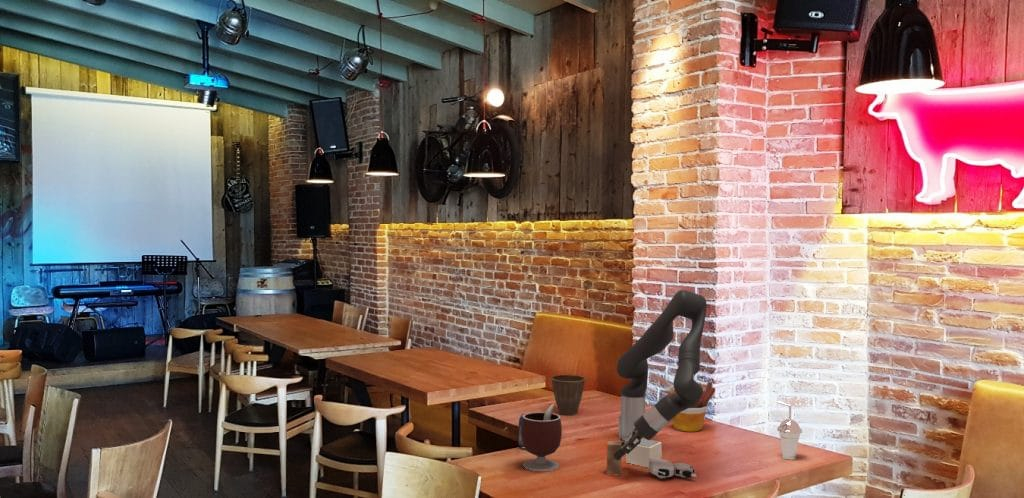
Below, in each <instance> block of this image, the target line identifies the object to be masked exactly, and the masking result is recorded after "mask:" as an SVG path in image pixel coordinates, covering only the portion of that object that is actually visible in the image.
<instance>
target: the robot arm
mask: <svg viewBox="0 0 1024 498" xmlns="http://www.w3.org/2000/svg"><path fill="white" fill-rule="evenodd" d="M707 303H708V302H707V298H706V297H705V296H704V295H701V294H699V293H695V292H692V291H689V290H685V289H681V290H679V291H677V292H676V293H675V294H674V295H673V297H672V298H671V299H670V300H669V302H668V304H667V305H666V306H665V308H664V309H663V311H662V313H661V314H660V315H659V316H658V317H657V318H656V319H655V321H654V322H653V323H652V324H651V325H650V326H649V327H648V328H647V330H646V331H644V333H643V334H642V335H641V337H640V338H639V339H638V340H637V341H635V343H634V344H633V345H632V346H631V347H630V348H629V349H628V350H626V351H625V352H624V353H623V354H622V355H621V356H620V357H619V359H618V360H617V363H616V373H617V374H618V376H619V377H621V378H623V379H627V380H629V379H630V381H629V382H628V383H627V384H626V385H624V386H623V387H621V391H620V392H621V393H620V394H621V395H620V414H619V415H618V436H617V437H618V438H619V439H618V440H621V439H622V440H621V442H622V448H621V449H620V450H619V451H617V452H616V453H615V454H614V458H615V459H616V460H617V461H618V460H619V459H621V458H623V457H624V456H625V455H626V454H629V453H630V452H631V451H632V450H633V449H634V448H635V447H636V446H637V445H638V444H640V442H641V439H642V438H643V439H647V440H652V439H653V438H654V437H655V436H657V435H658V434H659V433H660V432H661V431H662V430H663V429H664V428H666V426H667V425H668V423H670V422H672V419H673V418H674V417H675V416H676V415H677V414H678V413H680V412H682V411H684V410H686V409H688V408H690V407H691V406H693V405H695V404H696V403H697V402H698V401H699V400H700V399H701V397H702V395H703V391H704V390H703V387H702V385H701V384H700V383H699V382H698V381H696V380H695V379H694V376H695V375H697V374H698V373H699V372H700V368H701V366H700V365H701V343H702V339H703V337H702V336H703V332H704V329H705V328H704V327H705V321H706V316H707V307H708V306H707ZM677 317H682V318H685V319H688V320H691V329H690V330H689V333H687V335H686V336H685V337H684V339H683V340H682V341H681V342H680V345H679V348H678V355H677V356H678V358H677V359H678V361H677V366H678V367H677V369H676V372H675V374H674V379H673V385H674V390H675V392H676V393H677V395H675V396H667V395H665V396H663V397H661V399H659V400H658V401H657V402H656V403H655V404H654V405H653V406H651V407H649V409H647V410H646V391H647V388H648V376H649V363H648V360H649V359H650V358H652V357H654V356H655V355H658V354H659V353H661V352H662V351H663V350H665V349H666V348H667V347H668V345H669V344H670V343H671V342H672V340H673V339H674V338H673V337H674V324H673V323H674V320H675V319H676V318H677ZM627 446H628V447H629V449H627V448H626V447H627Z"/></svg>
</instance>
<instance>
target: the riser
mask: <svg viewBox="0 0 1024 498" xmlns="http://www.w3.org/2000/svg"><path fill="white" fill-rule="evenodd" d="M662 443H663V442H661V441H657V440H652V439H651V440H647V439H645V438H644V439H643V438H642V439H641V442H640V444H638V445H637V446H636V447H635V448H634V449H633V450H632V451H631V452H630V453H629V454H625V455H626V456H625V461H626V462H627V463H631V464H630V465H632V464H635V465H634V466H636V465H640V466H639V467H641V466H644V467H643V468H645V467H648V468H649V461H650V460H649V459H648V458H651V459H662V457H663V456H662V451H663V450H662V447H663V444H662ZM626 448H627V449H629V447H628V446H627V447H626ZM626 462H625V463H626ZM627 463H626V464H627ZM648 468H647V469H648Z"/></svg>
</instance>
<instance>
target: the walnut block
mask: <svg viewBox="0 0 1024 498" xmlns="http://www.w3.org/2000/svg"><path fill="white" fill-rule="evenodd" d="M622 442H623V441H617V440H616V441H615V440H608V441H607V443H606V475H607V474H618V475H617V476H619V475H620V474H621V475H622V463H623V462H622V461H623V459H622V458H623V457H622V458H621V459H619V460H618V461H617V460H616V459H615V458H614V454H615V453H616V452H617V451H619V450H620V449H621V448H622ZM621 475H620V476H621Z"/></svg>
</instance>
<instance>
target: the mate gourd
mask: <svg viewBox="0 0 1024 498" xmlns="http://www.w3.org/2000/svg"><path fill="white" fill-rule="evenodd" d="M555 405H556V403H551V405H550V406H549V407H548V408H547V409H546V410H545V412H543V411H542V412H541V411H534V412H527V413H523V414H524V415H523V420H522V425H521V438H522V443H523V446H524V447H525V449H524V450H526V452H527V453H529V454H532V455H534V456H536V458H535V459H528V460H526V461H524V462H523V463H522V467H523V466H524V467H525V468H526V469H525V468H524V467H523V468H524V469H525V470H527V469H529V470H528V471H530V470H533V471H532V472H535V471H550V472H552V471H551V470H554V469H556V468H558V467H559V468H560V465H559V463H558V462H557V461H554V460H551V459H547V458H546V457H547V456H549V455H552V454H554V453H556V451H557V450H558V448H559V447H560V446H561V441H562V436H563V435H562V431H563V430H562V429H563V427H562V420H561V416H560V415H559V414H557V413H553V409H554V406H555ZM559 468H558V469H559ZM554 471H555V470H554Z"/></svg>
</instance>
